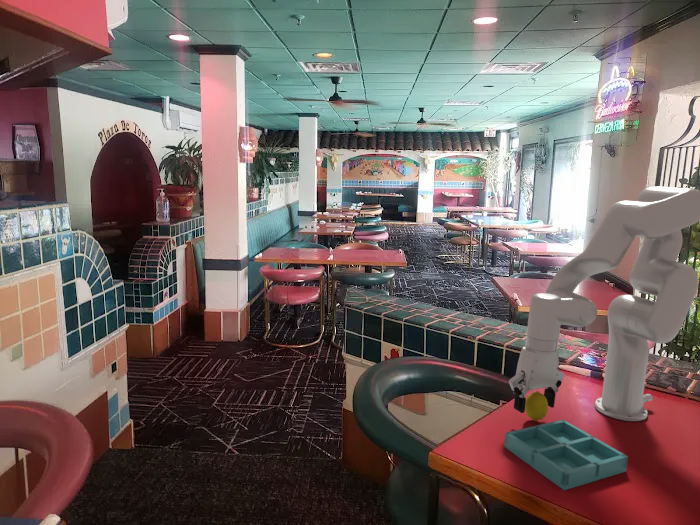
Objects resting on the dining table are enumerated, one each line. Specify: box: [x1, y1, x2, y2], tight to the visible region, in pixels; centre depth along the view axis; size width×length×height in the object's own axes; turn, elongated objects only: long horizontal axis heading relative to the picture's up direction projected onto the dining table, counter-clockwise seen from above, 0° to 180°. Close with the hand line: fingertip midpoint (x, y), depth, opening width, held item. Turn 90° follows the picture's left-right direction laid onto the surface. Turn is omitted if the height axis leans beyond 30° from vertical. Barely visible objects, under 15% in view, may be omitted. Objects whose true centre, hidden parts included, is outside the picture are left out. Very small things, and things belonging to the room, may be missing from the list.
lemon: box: [525, 391, 549, 422], centre depth 133 cm, size 6×6×8 cm
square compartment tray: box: [504, 419, 629, 491], centre depth 116 cm, size 18×18×4 cm
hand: (533, 407), depth 133 cm, fingers open, 9 cm apart
